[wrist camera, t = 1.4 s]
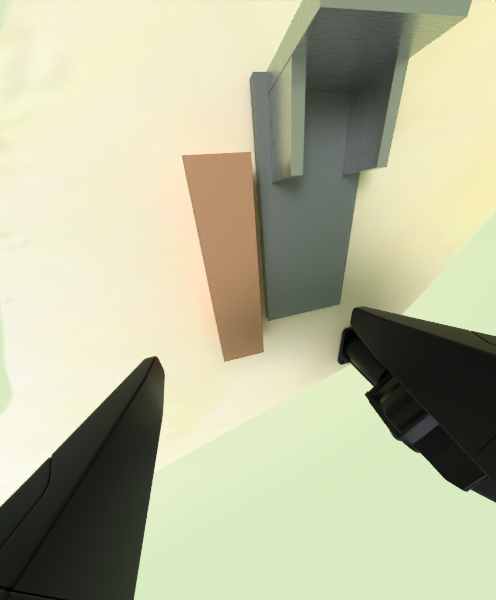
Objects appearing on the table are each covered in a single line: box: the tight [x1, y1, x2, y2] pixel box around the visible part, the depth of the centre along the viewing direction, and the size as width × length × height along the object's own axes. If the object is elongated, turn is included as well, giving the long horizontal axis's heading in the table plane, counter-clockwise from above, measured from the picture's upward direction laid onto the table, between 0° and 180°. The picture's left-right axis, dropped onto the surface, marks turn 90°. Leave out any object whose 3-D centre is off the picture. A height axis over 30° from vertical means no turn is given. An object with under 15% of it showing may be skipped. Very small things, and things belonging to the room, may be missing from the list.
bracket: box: [266, 0, 472, 183], centre depth 11 cm, size 6×7×6 cm
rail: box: [182, 152, 264, 362], centre depth 16 cm, size 16×4×4 cm, turn 5°
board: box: [250, 72, 359, 321], centre depth 17 cm, size 19×9×1 cm, turn 6°
